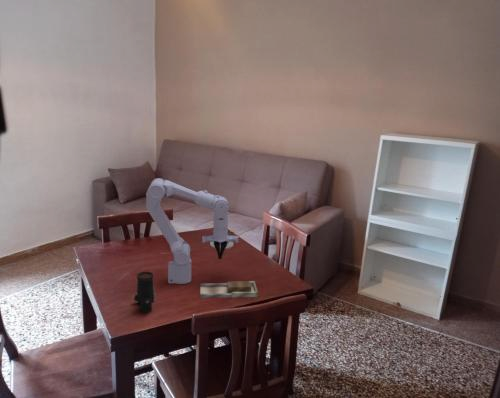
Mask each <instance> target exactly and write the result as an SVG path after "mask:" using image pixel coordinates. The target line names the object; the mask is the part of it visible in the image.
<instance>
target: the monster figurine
mask: <svg viewBox="0 0 500 398" xmlns="http://www.w3.org/2000/svg"><path fill="white" fill-rule="evenodd" d="M228 233H229V234H232V235H233V234H235V232H234V231H230V230H228ZM209 245H210V247H211V248H213V249H215V250H216V248H215V246H214V242H209ZM233 247H234V242H227V246H226V248H225V250H229V249H231V248H233Z"/></svg>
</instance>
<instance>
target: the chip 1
mask: <svg viewBox="0 0 500 398" xmlns="http://www.w3.org/2000/svg"><path fill="white" fill-rule="evenodd" d="M226 283H227V290H228V293H232V292H240V285H239V282H235V281H227V282H226Z"/></svg>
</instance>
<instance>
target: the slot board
mask: <svg viewBox="0 0 500 398" xmlns="http://www.w3.org/2000/svg"><path fill="white" fill-rule="evenodd" d="M244 281H245V280H244ZM244 281H242V280H241V281H235V280H234V282H244ZM227 283H228V282H219V283H218V282H217V283H213V282H212V283H206V282H205V283H200V285H199V287H200V289H199V291H200V293H199V294H200V296H199V297H200V299H214V298H215V299H218V298H225V299H226V298H258V297H259V293H258V292H259V291H258V288H257V284H256V281H255V280H253V281H252V280H251V281H250V283H251V292H232V293H228V290H227Z"/></svg>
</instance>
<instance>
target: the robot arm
mask: <svg viewBox="0 0 500 398" xmlns="http://www.w3.org/2000/svg"><path fill="white" fill-rule="evenodd" d="M165 195H166V196H165ZM173 195H175V196H180V197H183V198H186V199H189V200H192V201H194V202H195V204H196V205H197V206H201V207H203V208H206V209H208V210H209V209H210V210H212V211H213V210H214V212H213V213H214V214H213V234H212V235H204V236H203V235H202V240H201V241H202V243H210V242H214V246H215V248H216V249H215V248H214V249H215V250H216V253H217V259H218V260H222V259H223V255H224V252H225V250H226V249H225V248H226V246H227V242H233V243H239V236H238V235H230V234H228V233H229V232H228V231H229V226H228V225H229V216H228V214H229V210H230V207H229V202H228V201H229V200H228V199H227V198H226V197H224V196H223V195H218V194H216V195H215V194H212V193H209V192H208V190H206V189H205V190H199V191H195V190H192V189H190V188H187V187H186V186H182V185H180V184H178V183H176V182H173V181H171V180H168V179H163V178H160V177H158V178H154V179H153V180H152V181H151V183H150V185H149V186H148V189H147V190H146V193H145V196H146V198H145V200H146V201H145V204H146V205H145V208H146V210H147V212H148V213H149V215H150V216H151V218H152V220H153V221H154V222H155V224H156V226H157V227H158V229H159V231H160V232H161V234H162V235H163V237H164V238H165V240H166V242H167V243H168V244H169V246H170V247H169V248H170V250H171V253H172V255H173V260H169V261H168V266H167V267H168V268H167V271H168V272H167V279H168V281H167V282H168V284H178V285H179V284H180V285H181V284H182V285H184V284H188V283H190V282H191V281H192V259H191V252H192V251H191V250H192V248H191V246H190V244H189V243H187V242H186V241H185V240H184V238H182V237H181V236H180V234H179V233H178V232H177V230H176V229H175V227H174V225H173V224H172V222H171V220H170V218H169V217H168V215H167V214H166V213H165V212H166V211H164V209H163V208H162V206H161V201H162V199H163V198H164V197H170V196H173Z"/></svg>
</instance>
